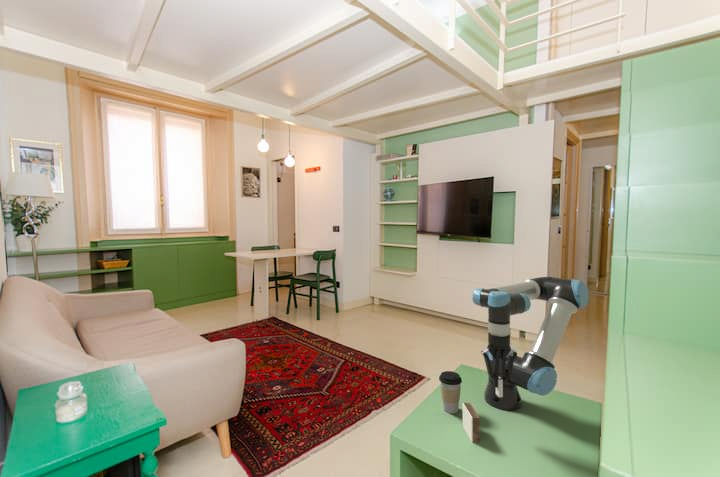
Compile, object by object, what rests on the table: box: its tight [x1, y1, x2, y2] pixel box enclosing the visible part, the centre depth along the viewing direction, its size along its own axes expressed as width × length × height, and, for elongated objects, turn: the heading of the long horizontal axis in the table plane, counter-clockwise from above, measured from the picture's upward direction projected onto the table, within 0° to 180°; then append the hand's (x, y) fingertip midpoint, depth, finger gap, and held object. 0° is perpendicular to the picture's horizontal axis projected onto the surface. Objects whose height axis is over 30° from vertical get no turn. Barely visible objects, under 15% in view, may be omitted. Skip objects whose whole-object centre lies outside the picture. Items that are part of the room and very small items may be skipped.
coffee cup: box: [438, 370, 463, 415], centre depth 136 cm, size 9×9×15 cm
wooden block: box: [461, 402, 481, 443], centre depth 120 cm, size 3×10×9 cm, turn 0°
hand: (499, 395), depth 120 cm, fingers closed
